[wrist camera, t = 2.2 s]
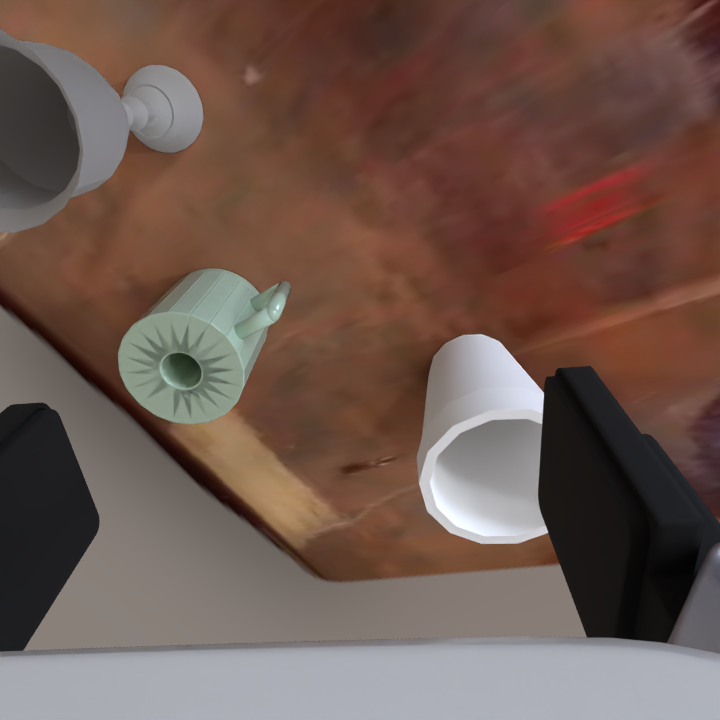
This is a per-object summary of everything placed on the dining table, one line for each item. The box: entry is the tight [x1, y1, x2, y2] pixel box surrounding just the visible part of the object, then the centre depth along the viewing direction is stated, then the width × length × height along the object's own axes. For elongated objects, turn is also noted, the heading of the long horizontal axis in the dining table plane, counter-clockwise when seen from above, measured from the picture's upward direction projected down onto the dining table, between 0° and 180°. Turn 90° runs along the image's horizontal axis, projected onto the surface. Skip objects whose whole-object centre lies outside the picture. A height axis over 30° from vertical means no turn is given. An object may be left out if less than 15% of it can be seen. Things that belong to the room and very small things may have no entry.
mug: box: [118, 268, 291, 425], centre depth 37 cm, size 10×8×8 cm
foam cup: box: [417, 334, 548, 544], centre depth 36 cm, size 10×9×13 cm
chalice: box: [0, 29, 203, 232], centre depth 27 cm, size 7×7×18 cm
